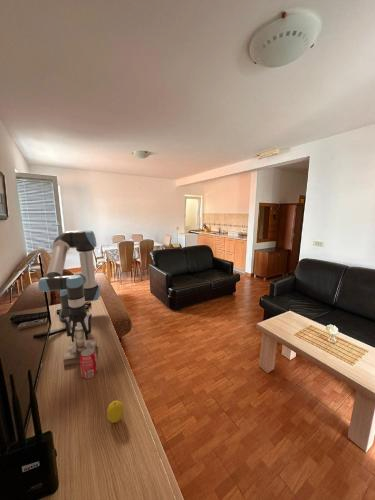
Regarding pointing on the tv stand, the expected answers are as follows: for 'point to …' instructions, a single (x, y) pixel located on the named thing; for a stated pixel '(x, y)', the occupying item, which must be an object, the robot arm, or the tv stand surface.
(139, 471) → the tv stand surface
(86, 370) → the soda can
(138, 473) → the tv stand surface
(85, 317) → the mug
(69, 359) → the beige flat square block
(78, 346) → the leg peg
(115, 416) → the lemon
